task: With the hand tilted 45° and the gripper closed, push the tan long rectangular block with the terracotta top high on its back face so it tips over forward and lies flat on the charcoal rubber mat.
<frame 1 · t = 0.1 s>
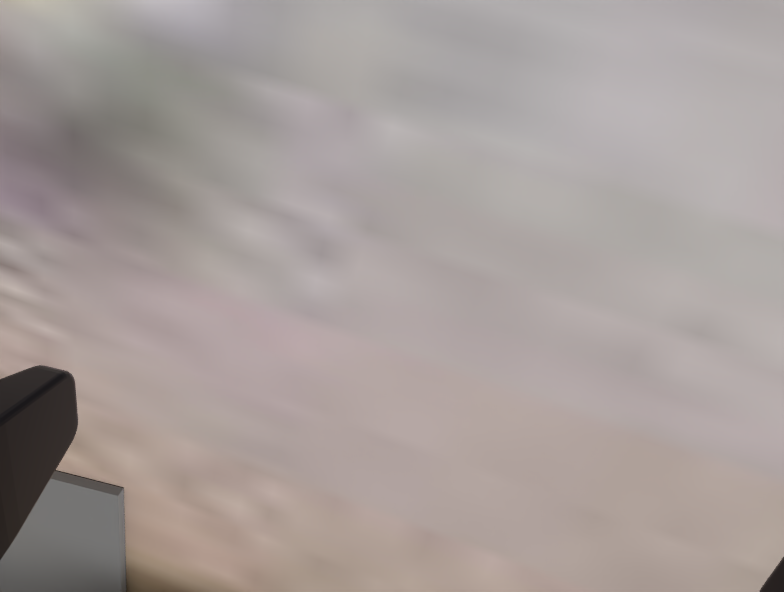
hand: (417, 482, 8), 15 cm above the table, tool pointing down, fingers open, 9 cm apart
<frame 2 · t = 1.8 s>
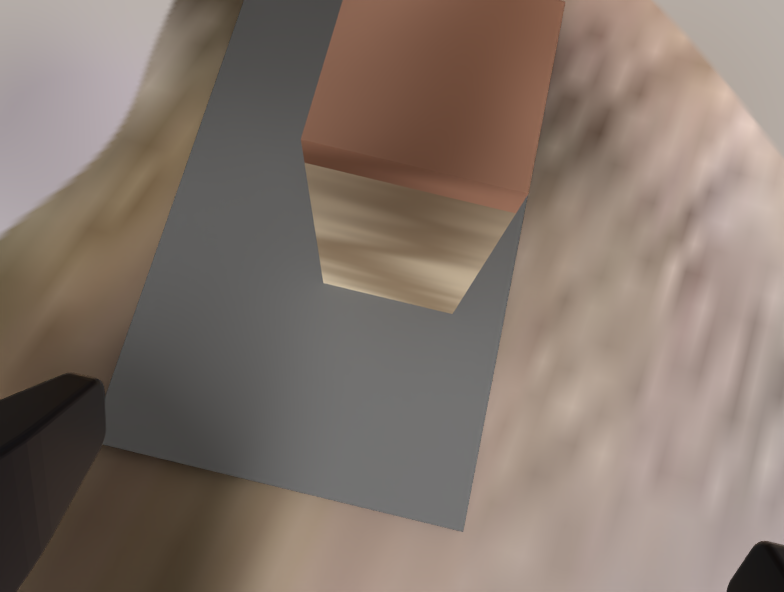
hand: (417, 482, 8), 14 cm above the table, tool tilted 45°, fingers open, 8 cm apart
tan long rectangular block: (402, 237, 23), resting on rubber mat
rubber mat: (353, 204, 24), on the table
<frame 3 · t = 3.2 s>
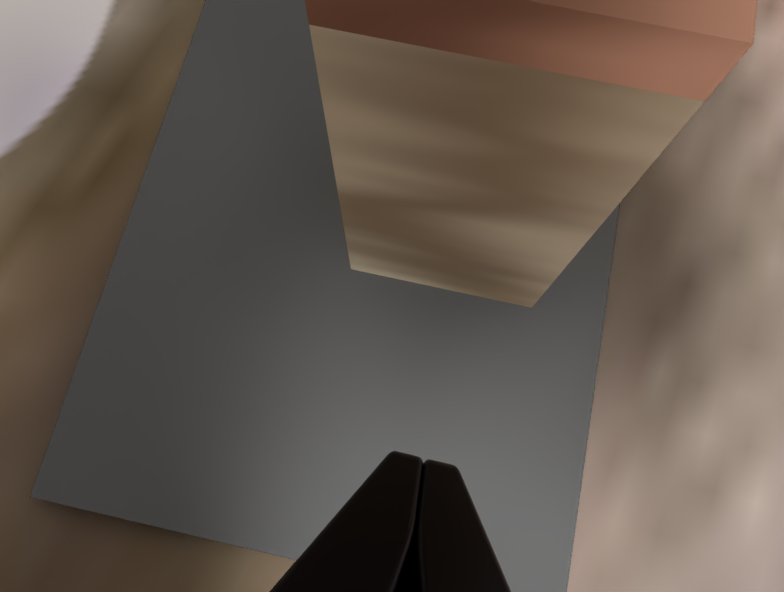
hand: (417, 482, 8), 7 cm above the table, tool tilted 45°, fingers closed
tan long rectangular block: (458, 205, 17), resting on rubber mat
rubber mat: (389, 163, 17), on the table
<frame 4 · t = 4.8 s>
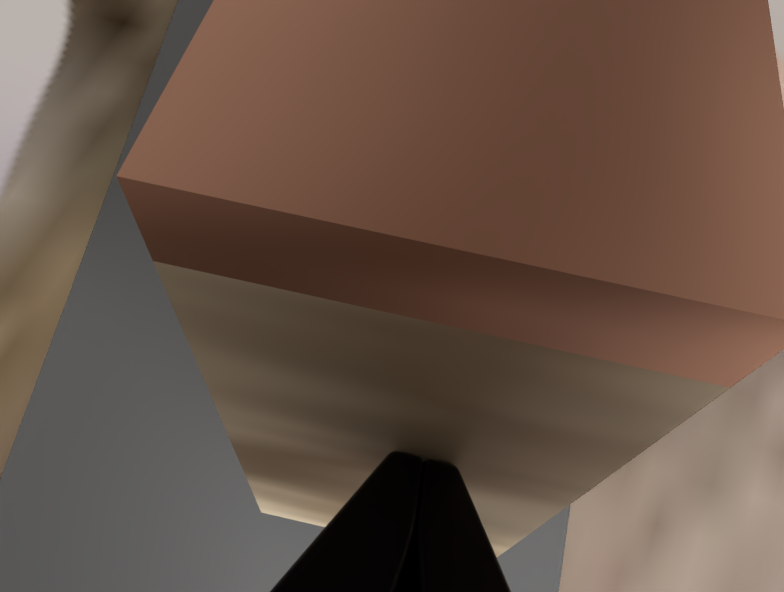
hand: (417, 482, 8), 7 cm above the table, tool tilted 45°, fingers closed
tan long rectangular block: (396, 429, 14), point 1 cm above the table, tilted 15°, touching rubber mat
rubber mat: (319, 374, 15), on the table
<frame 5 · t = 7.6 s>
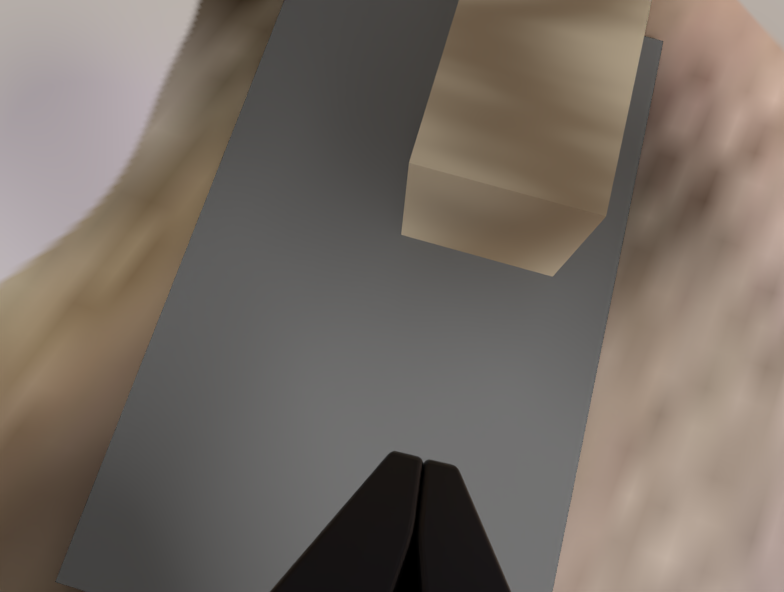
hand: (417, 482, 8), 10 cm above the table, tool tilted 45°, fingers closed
tan long rectangular block: (489, 226, 17), point 3 cm above the table, tilted 90°, touching rubber mat
rubber mat: (396, 282, 19), on the table
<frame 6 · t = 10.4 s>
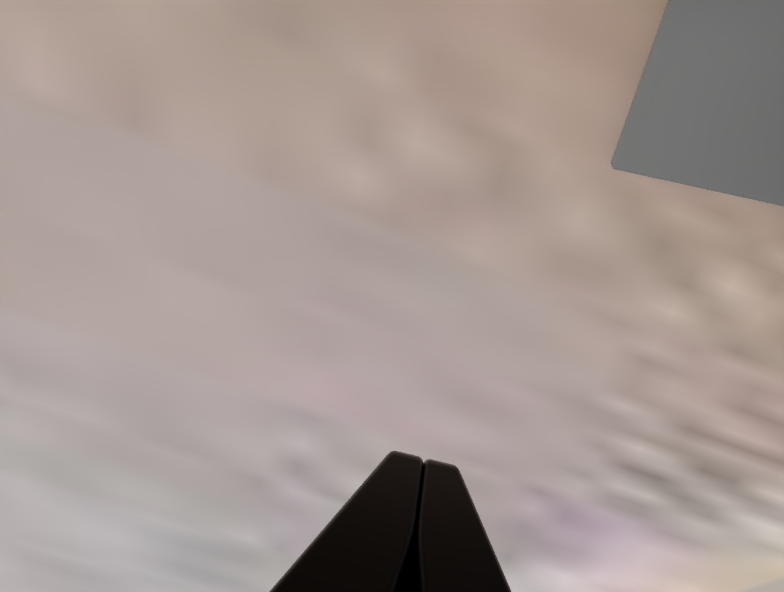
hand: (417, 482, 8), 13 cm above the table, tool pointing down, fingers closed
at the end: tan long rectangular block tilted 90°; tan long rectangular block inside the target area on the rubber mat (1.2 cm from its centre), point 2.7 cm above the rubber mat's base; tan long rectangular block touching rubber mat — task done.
